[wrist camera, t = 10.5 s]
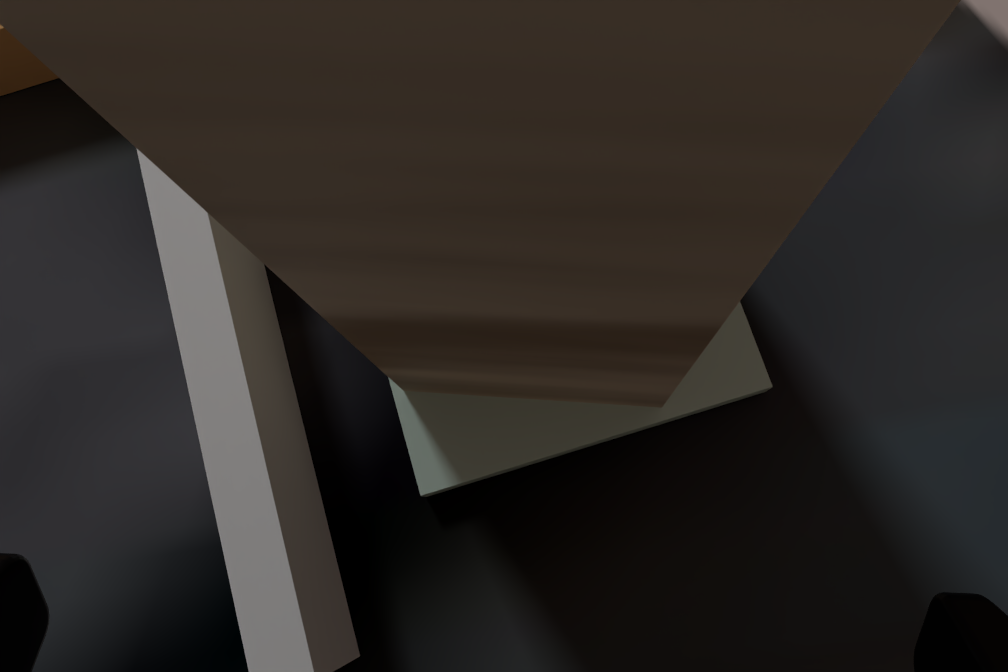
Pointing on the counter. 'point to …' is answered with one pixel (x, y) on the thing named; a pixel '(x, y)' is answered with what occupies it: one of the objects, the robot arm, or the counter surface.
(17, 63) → the trap tray
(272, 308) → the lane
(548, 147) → the beech block
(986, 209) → the counter surface
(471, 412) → the pad
